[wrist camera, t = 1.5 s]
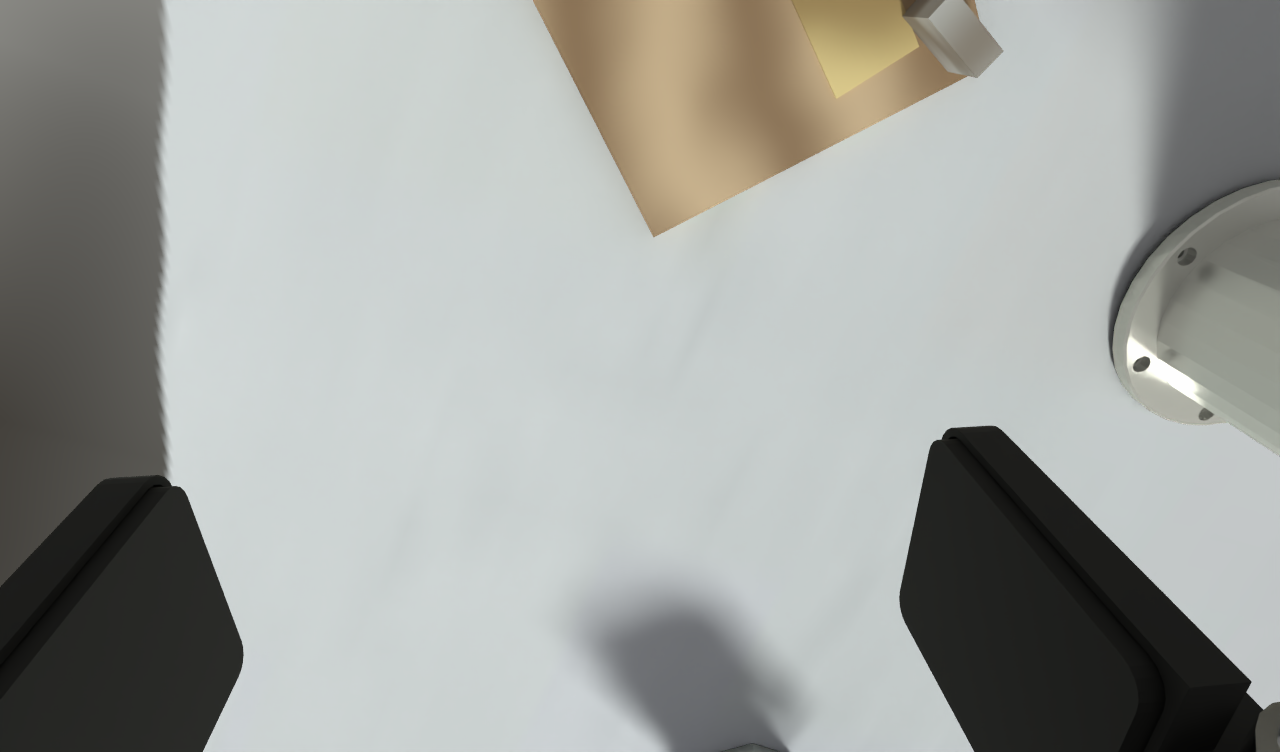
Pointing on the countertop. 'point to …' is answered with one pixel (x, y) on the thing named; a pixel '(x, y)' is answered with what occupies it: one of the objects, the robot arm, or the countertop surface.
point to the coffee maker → (750, 749)
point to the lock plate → (750, 82)
